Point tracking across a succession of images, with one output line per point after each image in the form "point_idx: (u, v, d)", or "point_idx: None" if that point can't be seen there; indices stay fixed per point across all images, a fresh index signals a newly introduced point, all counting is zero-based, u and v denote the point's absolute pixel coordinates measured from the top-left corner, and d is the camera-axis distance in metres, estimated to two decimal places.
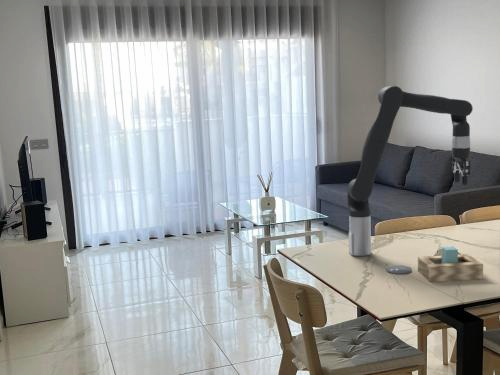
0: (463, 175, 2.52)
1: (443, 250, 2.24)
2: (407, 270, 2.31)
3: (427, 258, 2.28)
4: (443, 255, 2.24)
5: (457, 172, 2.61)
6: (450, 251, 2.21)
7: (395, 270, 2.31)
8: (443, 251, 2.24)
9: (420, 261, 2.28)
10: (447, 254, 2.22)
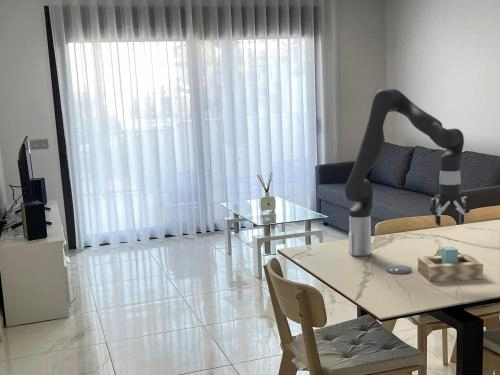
0: (464, 213, 2.21)
1: (443, 250, 2.24)
2: (407, 270, 2.31)
3: (427, 258, 2.28)
4: (443, 255, 2.24)
5: None
6: (450, 251, 2.21)
7: (395, 270, 2.31)
8: (443, 251, 2.24)
9: (420, 261, 2.28)
10: (447, 254, 2.22)
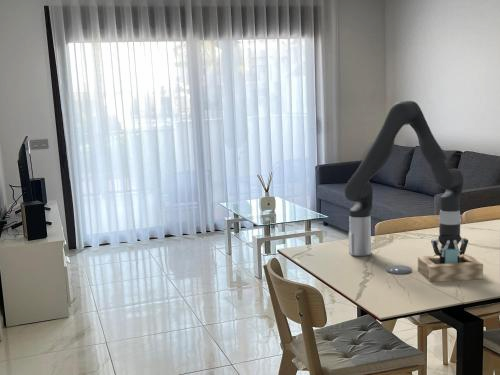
0: (459, 254, 2.23)
1: None
2: (407, 270, 2.31)
3: (427, 258, 2.28)
4: None
5: None
6: (450, 251, 2.21)
7: (395, 270, 2.31)
8: None
9: (420, 261, 2.28)
10: (447, 254, 2.22)
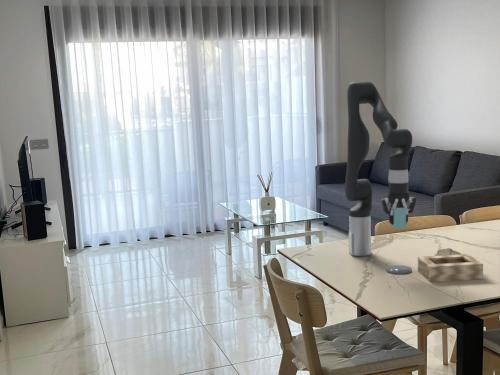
0: (408, 213, 2.29)
1: None
2: (407, 270, 2.31)
3: (427, 258, 2.28)
4: None
5: None
6: (398, 209, 2.28)
7: (395, 270, 2.31)
8: None
9: (420, 261, 2.28)
10: (396, 212, 2.28)
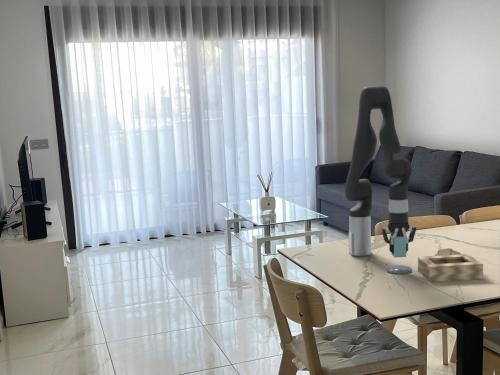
0: None
1: None
2: (407, 270, 2.31)
3: (427, 258, 2.28)
4: None
5: None
6: (399, 239, 2.29)
7: (395, 270, 2.31)
8: None
9: (420, 261, 2.28)
10: (396, 241, 2.29)
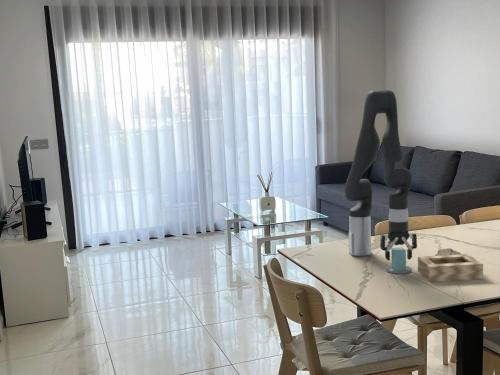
0: (412, 249, 2.31)
1: (392, 251, 2.32)
2: (407, 270, 2.31)
3: (427, 258, 2.28)
4: (392, 256, 2.33)
5: None
6: (398, 252, 2.30)
7: None
8: (392, 252, 2.33)
9: (420, 261, 2.28)
10: (396, 255, 2.30)
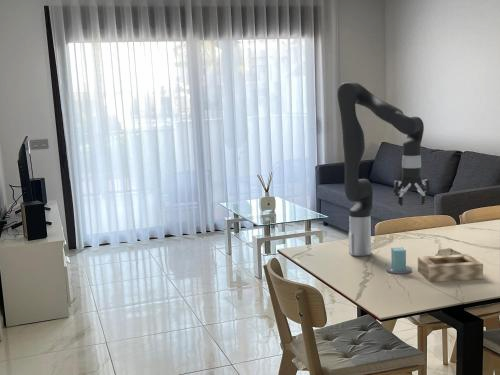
0: (424, 195, 2.40)
1: (392, 251, 2.32)
2: (407, 270, 2.31)
3: (427, 258, 2.28)
4: (392, 256, 2.33)
5: None
6: (398, 252, 2.30)
7: None
8: (392, 252, 2.33)
9: (420, 261, 2.28)
10: (396, 255, 2.30)
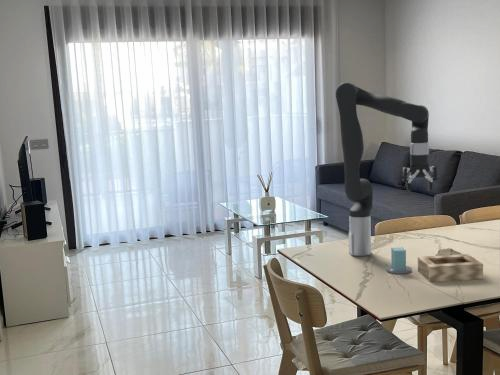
0: (432, 181, 2.48)
1: (392, 251, 2.32)
2: (407, 270, 2.31)
3: (427, 258, 2.28)
4: (392, 256, 2.33)
5: None
6: (398, 252, 2.30)
7: None
8: (392, 252, 2.33)
9: (420, 261, 2.28)
10: (396, 255, 2.30)
